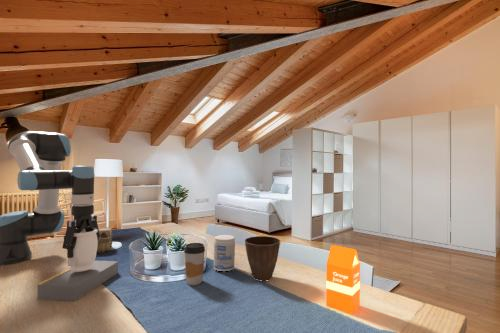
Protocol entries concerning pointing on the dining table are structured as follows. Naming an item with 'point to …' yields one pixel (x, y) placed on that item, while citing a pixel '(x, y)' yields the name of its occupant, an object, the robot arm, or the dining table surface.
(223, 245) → the supplement tub
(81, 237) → the jar
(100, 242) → the wicker basket
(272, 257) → the plant pot
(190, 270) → the coffee cup
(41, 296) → the dock
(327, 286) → the orange juice
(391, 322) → the dining table surface
